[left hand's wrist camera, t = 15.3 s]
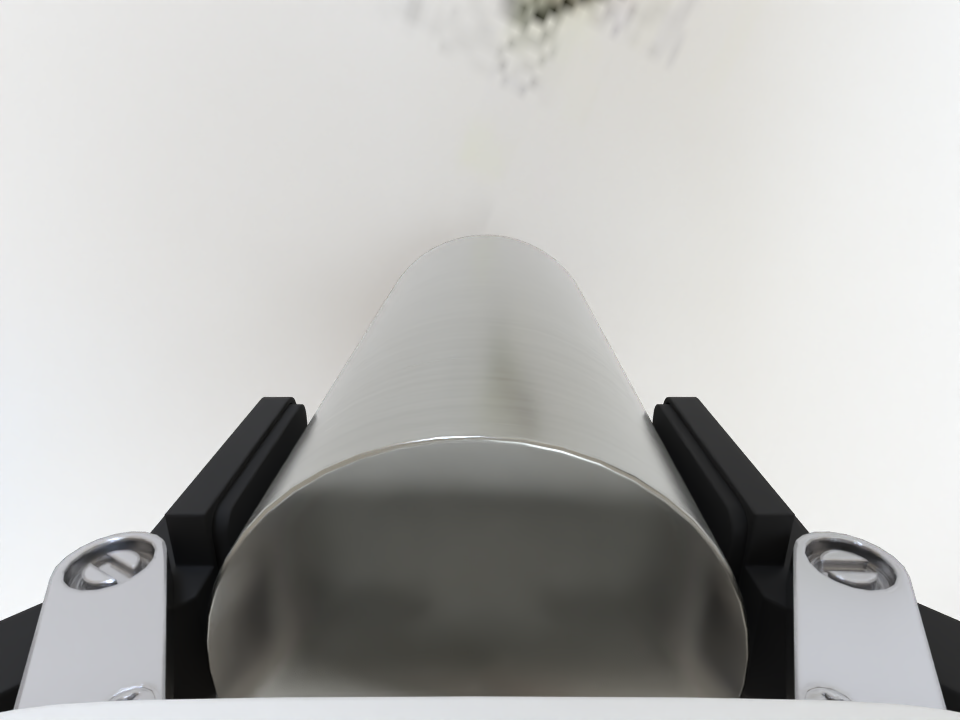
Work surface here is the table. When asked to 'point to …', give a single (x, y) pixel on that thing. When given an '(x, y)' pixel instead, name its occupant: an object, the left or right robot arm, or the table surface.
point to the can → (478, 515)
